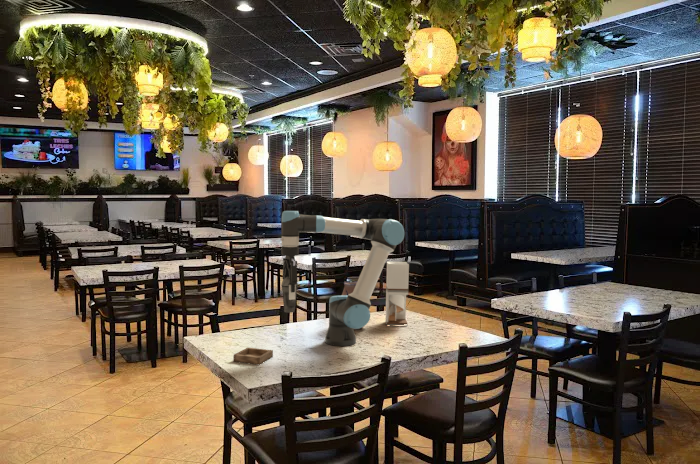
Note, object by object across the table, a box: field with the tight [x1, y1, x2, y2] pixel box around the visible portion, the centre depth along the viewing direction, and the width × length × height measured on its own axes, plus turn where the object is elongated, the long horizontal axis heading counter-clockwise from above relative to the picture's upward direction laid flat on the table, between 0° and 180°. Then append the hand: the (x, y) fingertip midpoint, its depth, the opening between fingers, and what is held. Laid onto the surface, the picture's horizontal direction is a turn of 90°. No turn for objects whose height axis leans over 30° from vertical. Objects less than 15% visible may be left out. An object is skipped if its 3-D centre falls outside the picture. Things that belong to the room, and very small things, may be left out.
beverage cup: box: [281, 277, 299, 314], centre depth 238 cm, size 7×7×20 cm
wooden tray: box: [232, 347, 274, 366], centre depth 234 cm, size 12×12×3 cm
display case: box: [385, 261, 410, 326], centre depth 306 cm, size 11×11×35 cm
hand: (289, 297), depth 239 cm, fingers closed on beverage cup, 7 cm apart
